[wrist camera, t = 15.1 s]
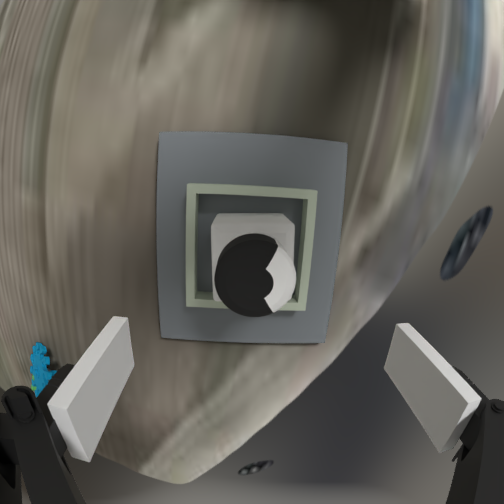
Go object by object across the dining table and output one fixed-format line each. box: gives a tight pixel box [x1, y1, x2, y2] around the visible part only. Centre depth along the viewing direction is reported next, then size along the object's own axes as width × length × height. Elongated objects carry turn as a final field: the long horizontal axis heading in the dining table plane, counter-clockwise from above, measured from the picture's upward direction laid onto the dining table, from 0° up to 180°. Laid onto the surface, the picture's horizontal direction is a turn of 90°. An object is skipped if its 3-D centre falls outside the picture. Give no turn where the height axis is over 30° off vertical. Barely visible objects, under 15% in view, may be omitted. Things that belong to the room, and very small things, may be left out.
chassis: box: [156, 132, 348, 343], centre depth 36 cm, size 26×22×4 cm
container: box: [211, 213, 296, 317], centre depth 30 cm, size 8×8×13 cm
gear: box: [30, 342, 57, 397], centre depth 40 cm, size 11×6×10 cm
